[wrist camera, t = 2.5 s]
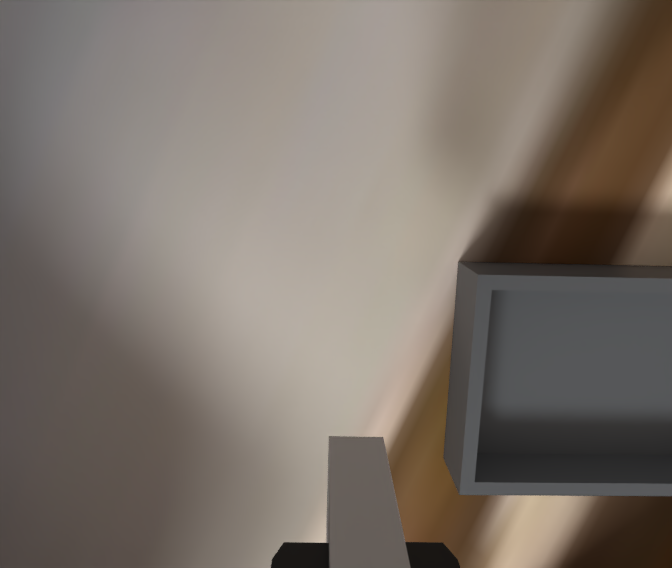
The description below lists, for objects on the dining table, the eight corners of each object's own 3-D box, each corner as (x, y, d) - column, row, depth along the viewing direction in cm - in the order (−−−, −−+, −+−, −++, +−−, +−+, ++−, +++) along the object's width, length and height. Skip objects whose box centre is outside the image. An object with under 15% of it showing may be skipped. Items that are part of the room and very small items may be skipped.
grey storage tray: (443, 458, 26) (459, 494, 23) (458, 261, 24) (477, 274, 21) (725, 460, 26) (776, 496, 23) (763, 268, 24) (824, 281, 21)
